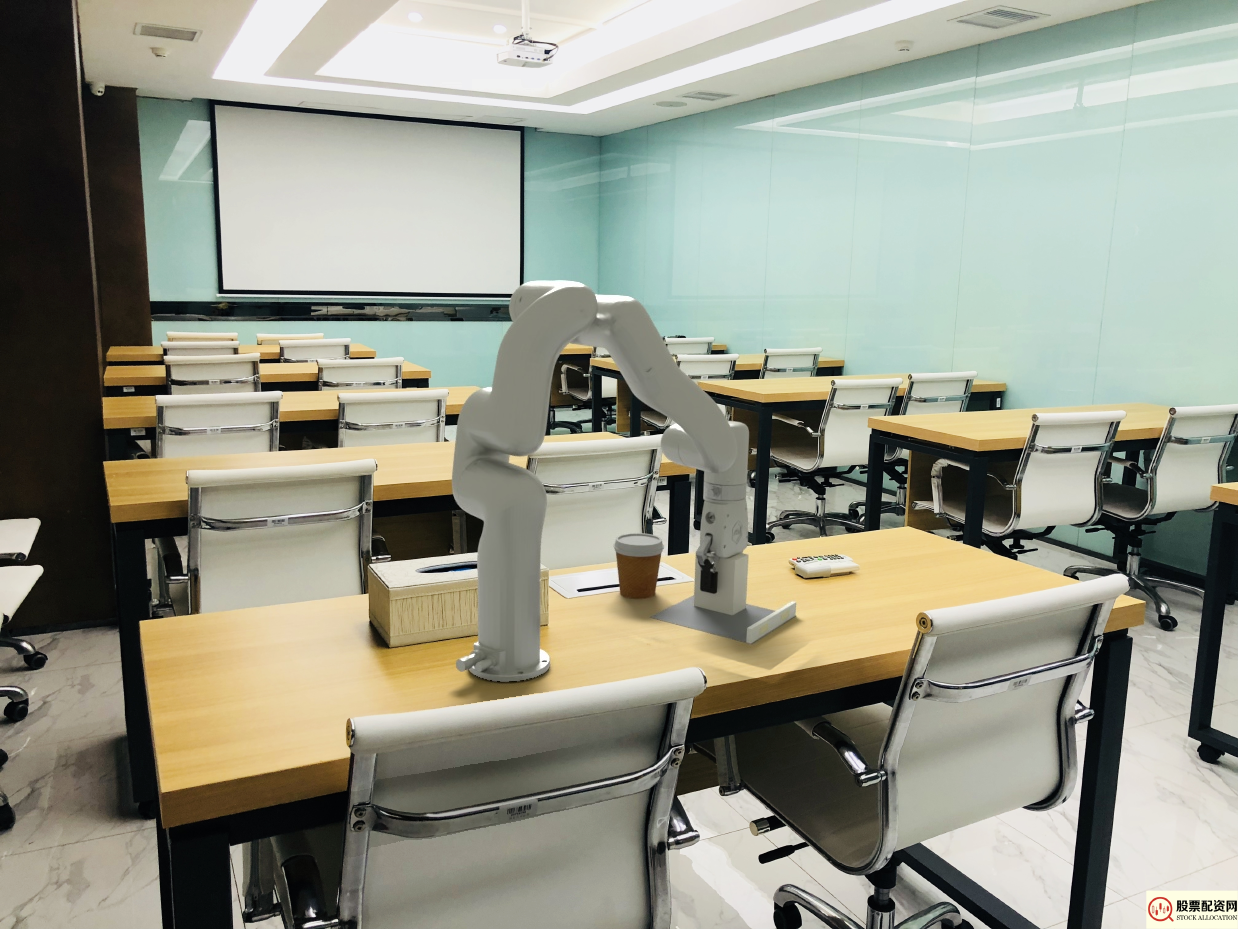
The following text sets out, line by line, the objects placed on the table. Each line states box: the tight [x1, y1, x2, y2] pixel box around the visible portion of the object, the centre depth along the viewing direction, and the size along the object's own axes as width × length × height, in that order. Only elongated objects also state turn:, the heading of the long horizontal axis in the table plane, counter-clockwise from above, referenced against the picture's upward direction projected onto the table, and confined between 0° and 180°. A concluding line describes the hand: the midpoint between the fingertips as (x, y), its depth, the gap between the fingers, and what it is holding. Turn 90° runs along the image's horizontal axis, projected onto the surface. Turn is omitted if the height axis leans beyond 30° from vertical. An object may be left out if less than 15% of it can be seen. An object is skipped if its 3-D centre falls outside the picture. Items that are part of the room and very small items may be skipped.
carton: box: [693, 552, 749, 615], centre depth 167 cm, size 5×8×10 cm
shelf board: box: [649, 594, 797, 645], centre depth 163 cm, size 17×20×4 cm
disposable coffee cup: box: [612, 532, 665, 600], centre depth 174 cm, size 10×10×12 cm
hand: (720, 585), depth 167 cm, fingers open, 8 cm apart
